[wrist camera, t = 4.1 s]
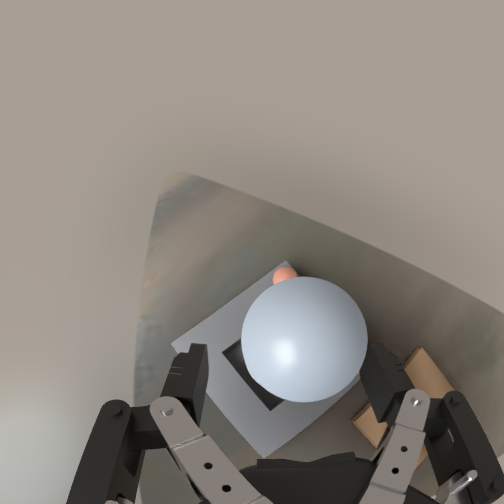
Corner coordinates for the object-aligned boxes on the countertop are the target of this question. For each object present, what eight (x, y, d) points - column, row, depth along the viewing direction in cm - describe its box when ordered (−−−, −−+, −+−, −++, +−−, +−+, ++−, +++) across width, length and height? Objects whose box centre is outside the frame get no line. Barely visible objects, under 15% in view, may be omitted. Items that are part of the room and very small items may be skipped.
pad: (416, 348, 21) (422, 347, 20) (459, 405, 18) (465, 405, 17) (350, 420, 19) (354, 422, 18) (402, 474, 16) (407, 477, 15)
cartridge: (278, 322, 22) (312, 254, 10) (312, 363, 20) (389, 341, 9) (234, 355, 21) (214, 327, 9) (269, 398, 19) (298, 427, 7)
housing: (282, 272, 24) (287, 254, 21) (363, 365, 21) (381, 361, 17) (179, 347, 21) (167, 341, 18) (262, 449, 18) (264, 462, 14)
